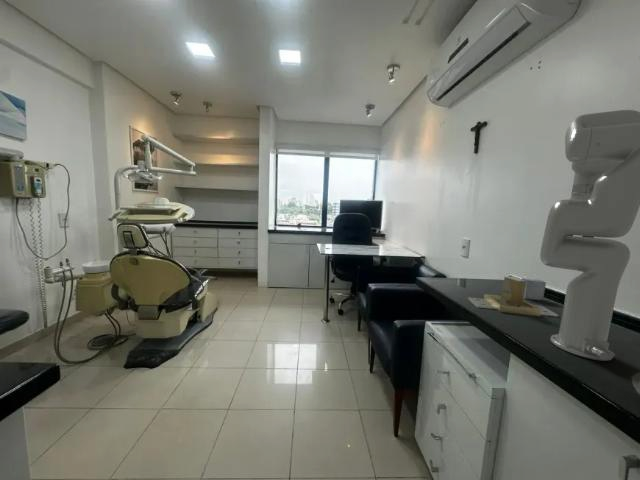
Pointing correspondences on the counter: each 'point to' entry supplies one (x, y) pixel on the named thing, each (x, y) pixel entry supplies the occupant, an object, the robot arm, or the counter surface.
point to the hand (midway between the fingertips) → (577, 236)
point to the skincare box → (513, 291)
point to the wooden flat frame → (526, 308)
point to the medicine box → (534, 289)
